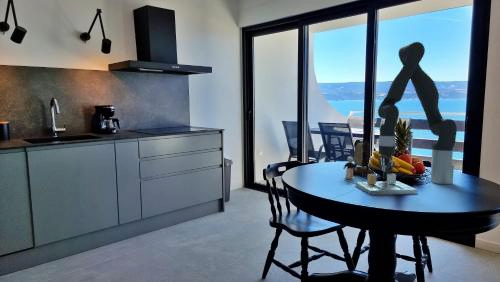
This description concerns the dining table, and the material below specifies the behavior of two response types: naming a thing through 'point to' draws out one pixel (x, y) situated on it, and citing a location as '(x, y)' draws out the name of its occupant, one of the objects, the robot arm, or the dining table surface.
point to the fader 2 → (391, 178)
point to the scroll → (358, 157)
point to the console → (385, 188)
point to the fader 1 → (371, 179)
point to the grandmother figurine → (350, 168)
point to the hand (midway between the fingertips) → (385, 178)
